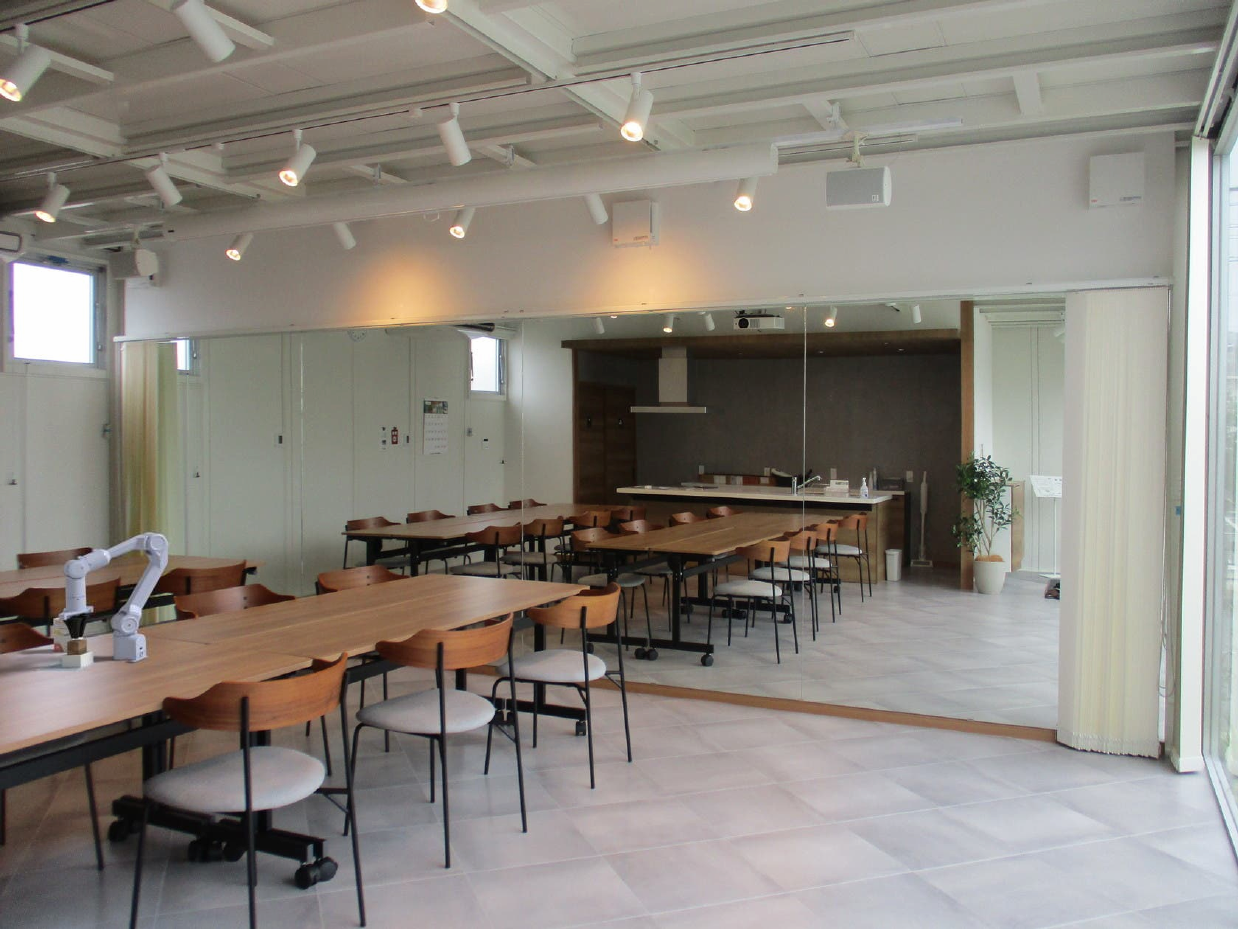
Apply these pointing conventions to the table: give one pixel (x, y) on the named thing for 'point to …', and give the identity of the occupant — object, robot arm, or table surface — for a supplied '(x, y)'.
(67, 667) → the blueprint board
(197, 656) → the table surface
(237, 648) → the table surface
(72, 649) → the walnut block
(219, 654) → the table surface
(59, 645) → the ink cartridge box
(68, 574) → the robot arm
